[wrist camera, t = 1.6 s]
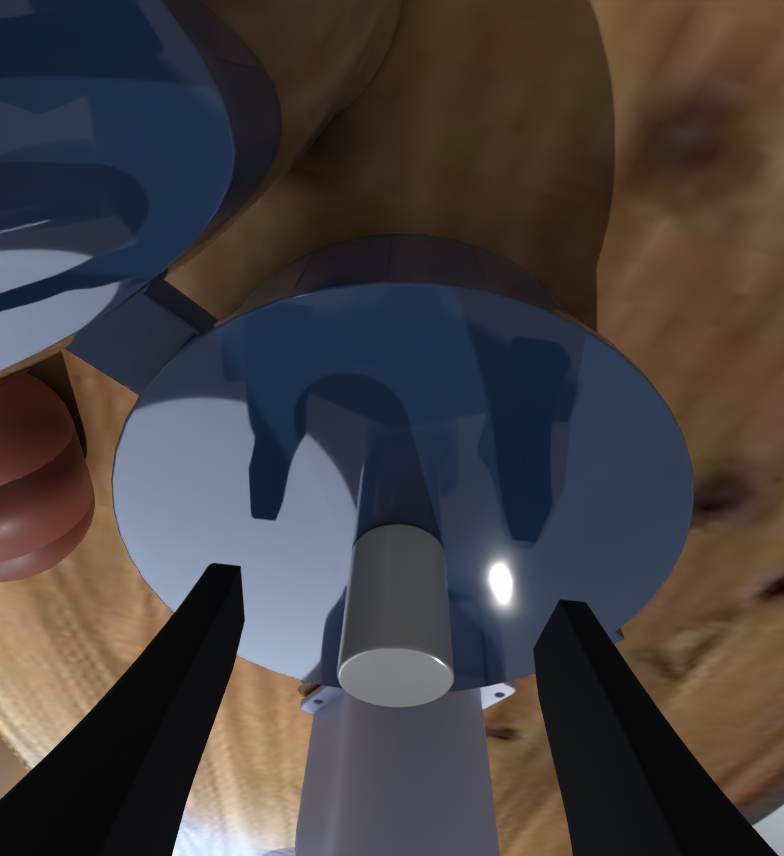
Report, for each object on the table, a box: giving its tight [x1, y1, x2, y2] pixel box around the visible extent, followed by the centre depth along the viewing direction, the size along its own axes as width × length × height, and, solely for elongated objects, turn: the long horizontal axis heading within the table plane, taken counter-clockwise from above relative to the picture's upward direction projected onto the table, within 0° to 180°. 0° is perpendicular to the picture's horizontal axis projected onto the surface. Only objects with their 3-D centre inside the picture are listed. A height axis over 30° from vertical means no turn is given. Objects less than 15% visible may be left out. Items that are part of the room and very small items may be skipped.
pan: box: [65, 234, 624, 644], centre depth 15 cm, size 13×19×5 cm
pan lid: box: [111, 274, 694, 707], centre depth 12 cm, size 14×14×4 cm
